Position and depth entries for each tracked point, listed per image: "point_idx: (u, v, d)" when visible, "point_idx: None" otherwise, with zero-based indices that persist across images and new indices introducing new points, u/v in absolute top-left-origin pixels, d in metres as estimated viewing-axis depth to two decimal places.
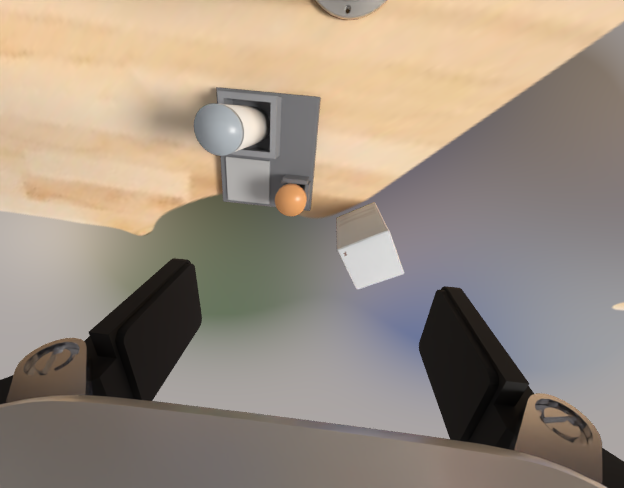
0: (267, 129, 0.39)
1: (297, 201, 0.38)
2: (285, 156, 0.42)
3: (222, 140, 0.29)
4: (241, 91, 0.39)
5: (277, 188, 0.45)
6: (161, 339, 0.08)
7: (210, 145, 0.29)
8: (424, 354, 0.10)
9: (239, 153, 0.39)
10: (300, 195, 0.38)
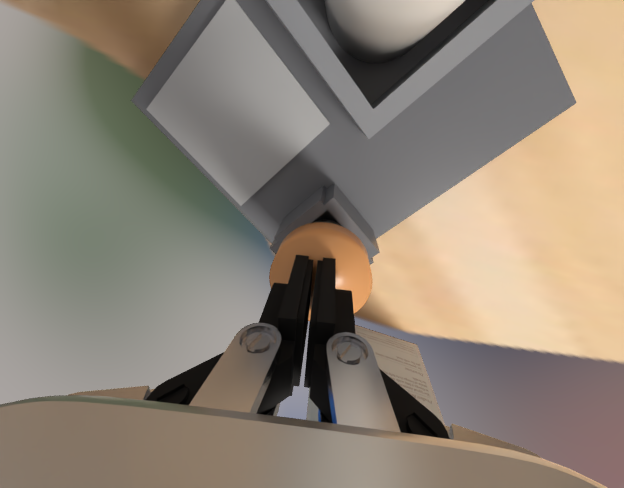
0: None
1: None
2: (371, 148, 0.15)
3: None
4: None
5: (288, 192, 0.16)
6: (305, 326, 0.09)
7: None
8: None
9: (287, 17, 0.10)
10: (358, 292, 0.12)
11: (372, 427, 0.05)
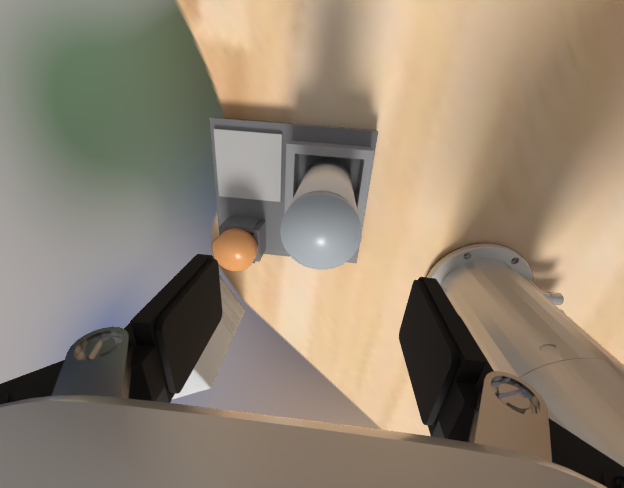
0: None
1: (234, 262, 0.29)
2: None
3: (305, 240, 0.17)
4: None
5: (244, 208, 0.31)
6: (190, 330, 0.09)
7: (296, 218, 0.16)
8: (403, 342, 0.11)
9: (287, 174, 0.26)
10: (243, 265, 0.29)
11: None
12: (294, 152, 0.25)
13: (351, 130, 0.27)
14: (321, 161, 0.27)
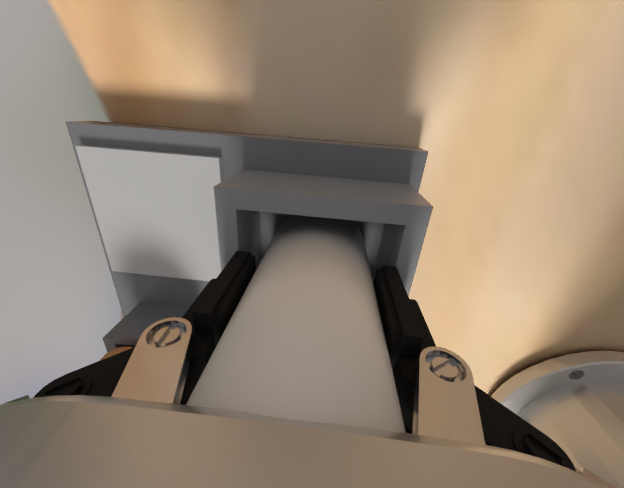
0: None
1: None
2: None
3: None
4: None
5: (164, 290, 0.17)
6: None
7: None
8: None
9: (225, 253, 0.11)
10: None
11: None
12: (236, 206, 0.10)
13: (369, 149, 0.12)
14: (304, 216, 0.13)
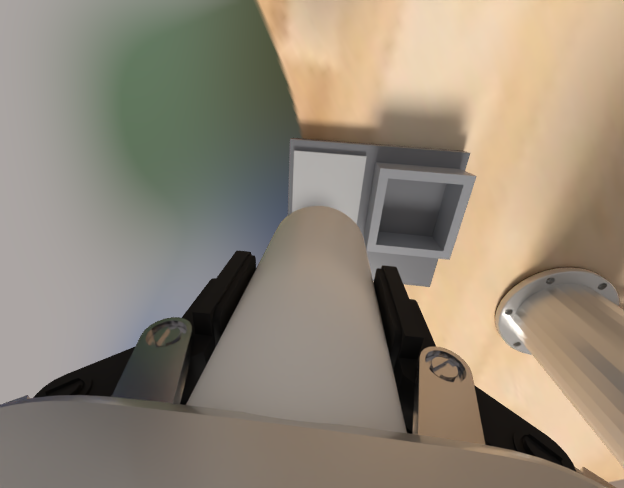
0: None
1: None
2: None
3: None
4: None
5: None
6: None
7: None
8: None
9: (377, 199, 0.24)
10: None
11: None
12: (388, 177, 0.24)
13: (441, 152, 0.25)
14: (303, 215, 0.13)
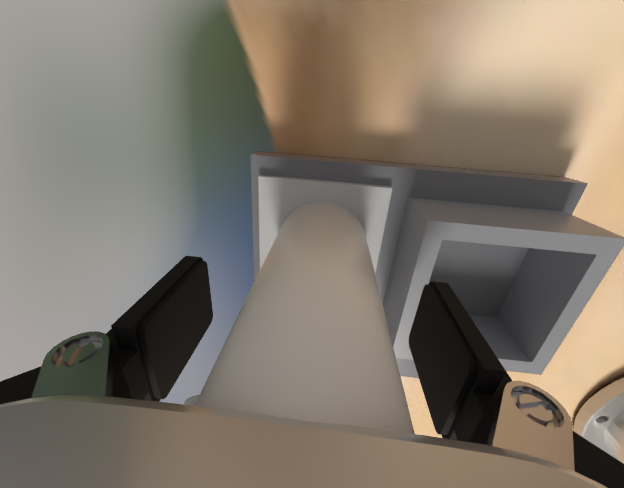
0: None
1: None
2: None
3: None
4: None
5: None
6: (177, 334, 0.09)
7: None
8: (413, 347, 0.10)
9: (417, 276, 0.12)
10: None
11: None
12: (442, 237, 0.12)
13: (532, 181, 0.14)
14: (309, 209, 0.13)
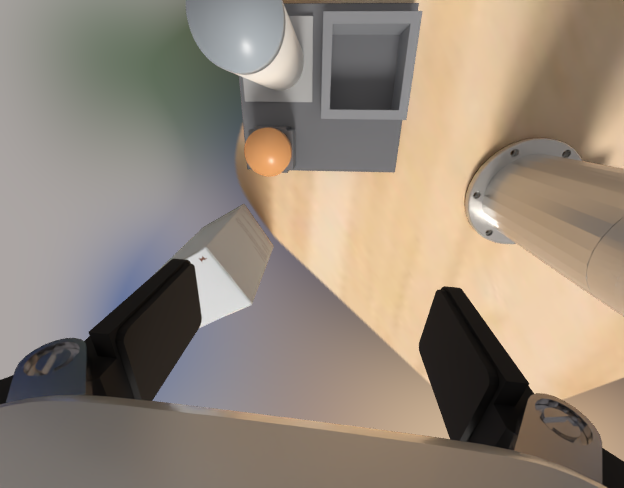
0: None
1: (269, 164, 0.26)
2: (320, 127, 0.29)
3: (217, 26, 0.14)
4: None
5: (272, 115, 0.29)
6: (161, 339, 0.08)
7: None
8: (424, 354, 0.10)
9: (325, 52, 0.23)
10: (278, 168, 0.26)
11: None
12: (332, 22, 0.23)
13: (389, 5, 0.25)
14: None
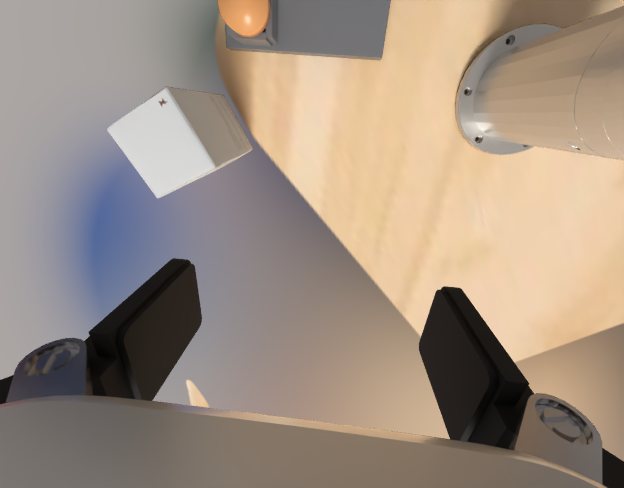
0: None
1: (243, 17, 0.24)
2: None
3: None
4: None
5: None
6: (161, 339, 0.08)
7: None
8: (424, 354, 0.10)
9: None
10: (253, 23, 0.24)
11: None
12: None
13: None
14: None
